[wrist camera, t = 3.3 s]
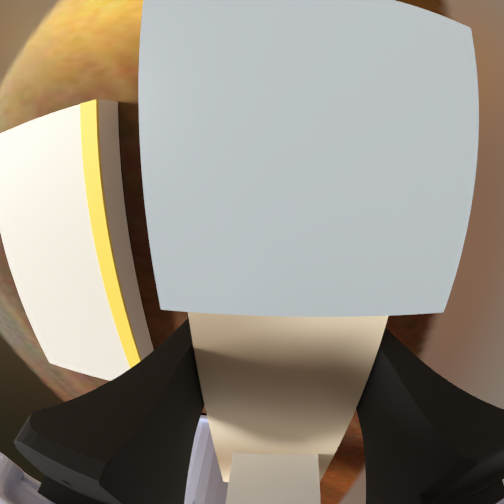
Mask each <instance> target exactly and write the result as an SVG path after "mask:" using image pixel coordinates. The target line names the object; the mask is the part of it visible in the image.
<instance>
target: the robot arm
mask: <svg viewBox="0 0 504 504" xmlns="http://www.w3.org/2000/svg"><path fill="white" fill-rule="evenodd" d="M203 407H204V400H203V395H202V390H201V385H200V380H199V375H198V370H197V364H196V359H195V353H194V348H193V342H192V336H191V330H190V323H189V318H188V319H187V320H186V321H185V322H184V323H183V324H182V325H181V326H180V327H179V328H178V329H177V330H176V331H175V332H174V333H172V334H171V335H170V336H169V337H168V338H167V339H166V340H165V341H164V342H163V343H162V344H161V345H159V346H158V347H157V348H156V349H155V350H154V351H152V352H151V353H150V354H149V355H148V356H146V357H145V358H144V359H143V360H141V361H140V362H139V363H137V364H136V365H135V366H133V367H132V368H130V369H129V370H127V371H126V372H124V373H123V374H121V375H120V376H118V377H117V378H115V379H113V380H111V381H109V382H108V383H106V384H104V385H102V386H100V387H98V388H97V389H95V390H93V391H91V392H88V393H86V394H84V395H82V396H80V397H77V398H75V399H72V400H69V401H67V402H64V403H61V404H58V405H55V406H52V407H48V408H44V409H41V410H37V411H33V412H32V413H31V415H30V416H29V418H28V419H27V421H26V422H25V424H24V426H23V427H22V429H21V430H20V432H19V434H18V435H17V437H16V439H15V440H14V443H15V445H16V448H17V449H18V450H19V452H20V453H21V454H22V455H23V456H24V457H25V458H26V459H28V460H29V461H30V462H31V463H32V464H33V465H34V466H35V467H37V468H38V469H39V470H40V471H41V472H42V473H43V474H44V475H45V477H44V479H43V481H42V483H40V482H39V481H37V480H35V479H34V478H32V477H31V476H29V475H27V474H26V473H24V472H23V470H22V469H21V468H19V467H18V466H17V465H16V464H15V463H14V462H12V461H11V460H10V459H9V458H7V457H6V456H5V455H3V454H2V453H0V504H225V503H226V496H227V489H228V483H229V482H223V478H222V475H221V471H220V467H219V463H218V460H217V456H216V452H215V448H214V444H213V440H212V436H211V431H210V427H209V423H208V418H207V416H206V415H201V413H202V410H203ZM356 409H357V413H358V417H359V421H360V425H361V430H362V435H363V442H364V452H365V466H366V504H504V485H503V482H502V479H504V409H500V408H498V407H496V406H493V405H491V404H489V403H486V402H484V401H482V400H480V399H478V398H476V397H474V396H472V395H470V394H469V393H467V392H465V391H463V390H462V389H460V388H458V387H456V386H455V385H453V384H452V383H450V382H449V381H447V380H446V379H444V378H443V377H442V376H440V375H439V374H437V373H436V372H435V371H433V370H432V369H431V368H430V367H428V366H427V365H426V364H425V363H423V362H422V361H421V360H420V359H419V358H417V357H416V356H415V355H414V354H413V353H412V352H411V351H410V350H408V349H407V348H406V347H405V346H404V345H403V344H402V343H401V342H400V341H399V340H398V339H397V338H396V337H395V336H394V335H393V334H392V333H391V332H390V331H389V330H387V329H386V328H385V330H384V333H383V336H382V339H381V343H380V346H379V349H378V352H377V355H376V358H375V361H374V363H373V366H372V369H371V372H370V374H369V377H368V380H367V382H366V385H365V388H364V390H363V393H362V395H361V398H360V400H359V403H358V405H357V407H356Z"/></svg>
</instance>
